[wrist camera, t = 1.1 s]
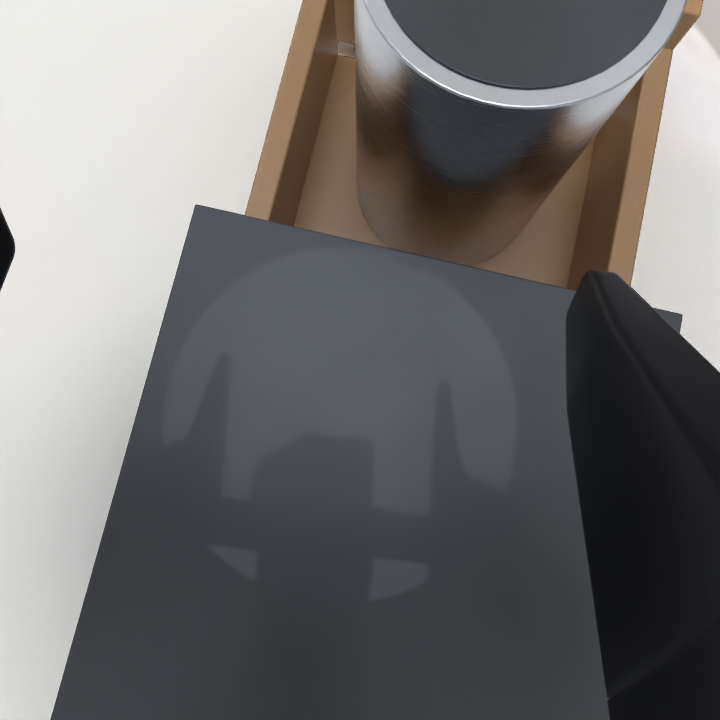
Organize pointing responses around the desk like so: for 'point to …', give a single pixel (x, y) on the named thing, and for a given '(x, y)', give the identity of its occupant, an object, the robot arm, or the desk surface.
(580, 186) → the drawer
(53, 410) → the desk surface
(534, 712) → the organizer
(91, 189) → the desk surface
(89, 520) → the desk surface
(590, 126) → the steel cup
